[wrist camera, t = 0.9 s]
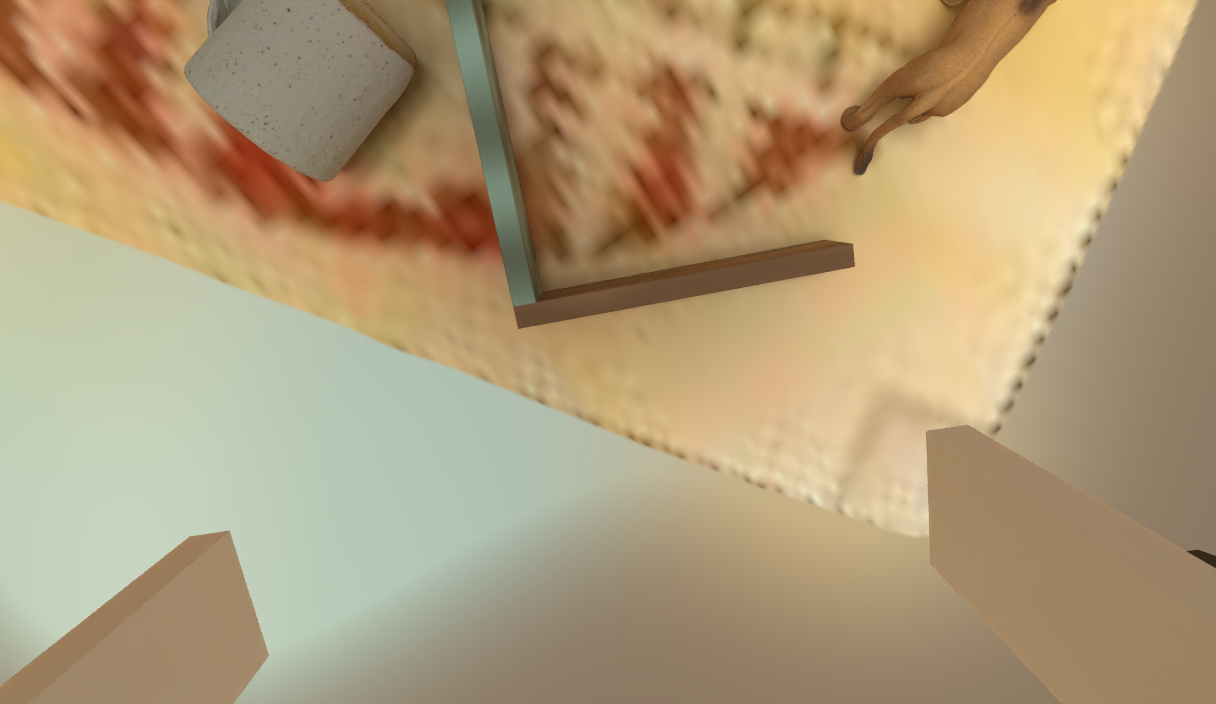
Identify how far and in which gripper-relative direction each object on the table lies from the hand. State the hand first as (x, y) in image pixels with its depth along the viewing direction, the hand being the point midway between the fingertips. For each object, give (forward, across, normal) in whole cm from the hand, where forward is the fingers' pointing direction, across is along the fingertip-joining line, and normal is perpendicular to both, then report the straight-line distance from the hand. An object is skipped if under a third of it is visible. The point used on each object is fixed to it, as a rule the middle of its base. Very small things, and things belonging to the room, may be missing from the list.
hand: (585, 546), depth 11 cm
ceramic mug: (+26, -13, +16) cm, 33 cm away
